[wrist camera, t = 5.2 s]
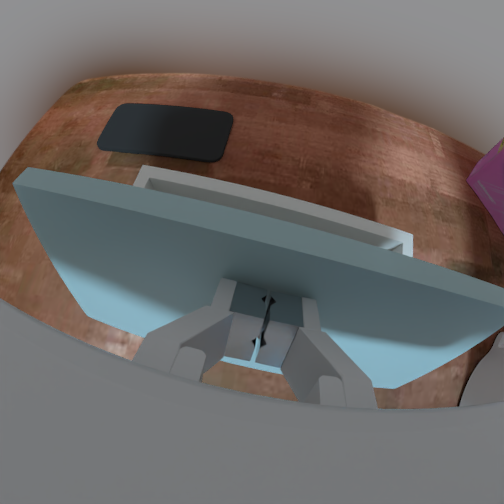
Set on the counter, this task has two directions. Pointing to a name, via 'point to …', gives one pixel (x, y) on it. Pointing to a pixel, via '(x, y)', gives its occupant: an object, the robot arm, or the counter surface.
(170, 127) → the phone
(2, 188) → the counter surface
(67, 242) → the panel
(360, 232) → the duct trough
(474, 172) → the gum box
